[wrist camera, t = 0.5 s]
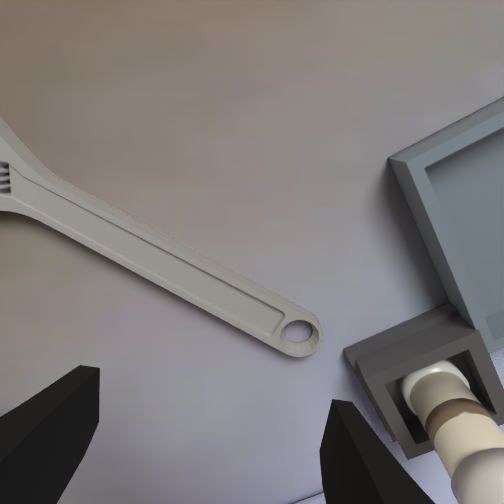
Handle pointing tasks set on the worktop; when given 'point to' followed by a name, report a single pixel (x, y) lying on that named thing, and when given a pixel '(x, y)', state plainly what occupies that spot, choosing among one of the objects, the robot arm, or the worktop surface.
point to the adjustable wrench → (147, 250)
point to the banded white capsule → (458, 431)
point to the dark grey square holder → (418, 357)
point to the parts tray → (463, 213)
